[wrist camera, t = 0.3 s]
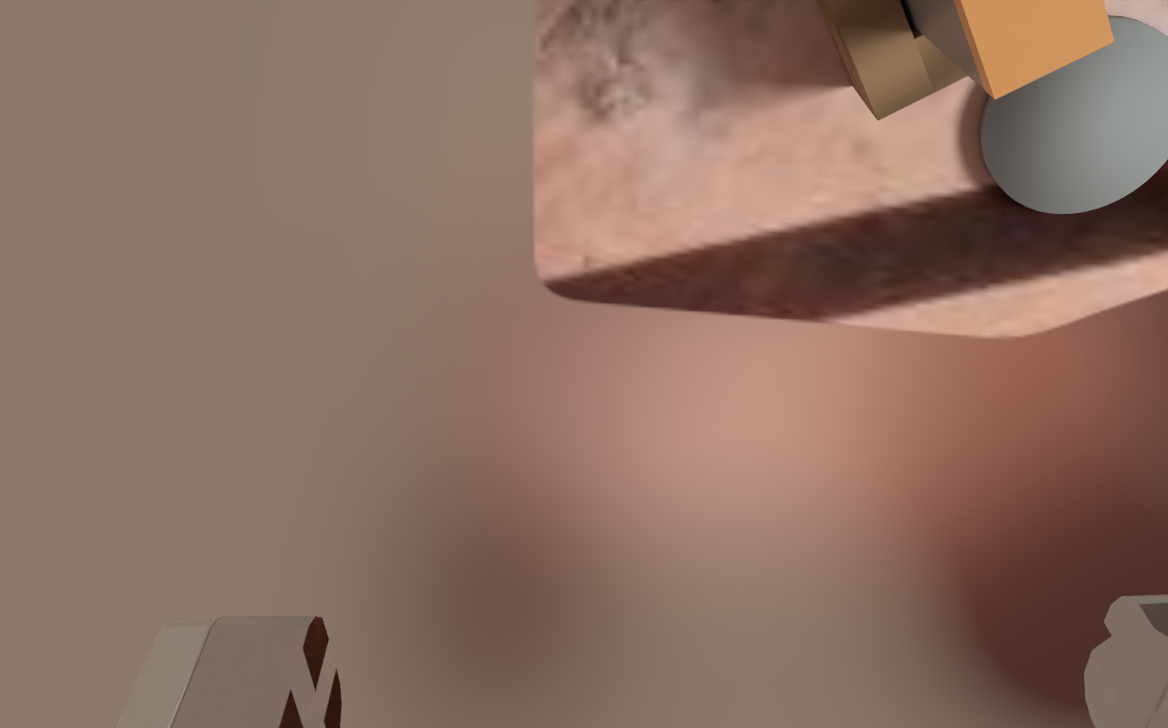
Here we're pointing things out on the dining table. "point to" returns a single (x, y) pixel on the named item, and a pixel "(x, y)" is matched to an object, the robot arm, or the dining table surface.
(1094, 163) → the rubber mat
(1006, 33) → the plug peg
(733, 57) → the dining table surface
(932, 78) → the block
